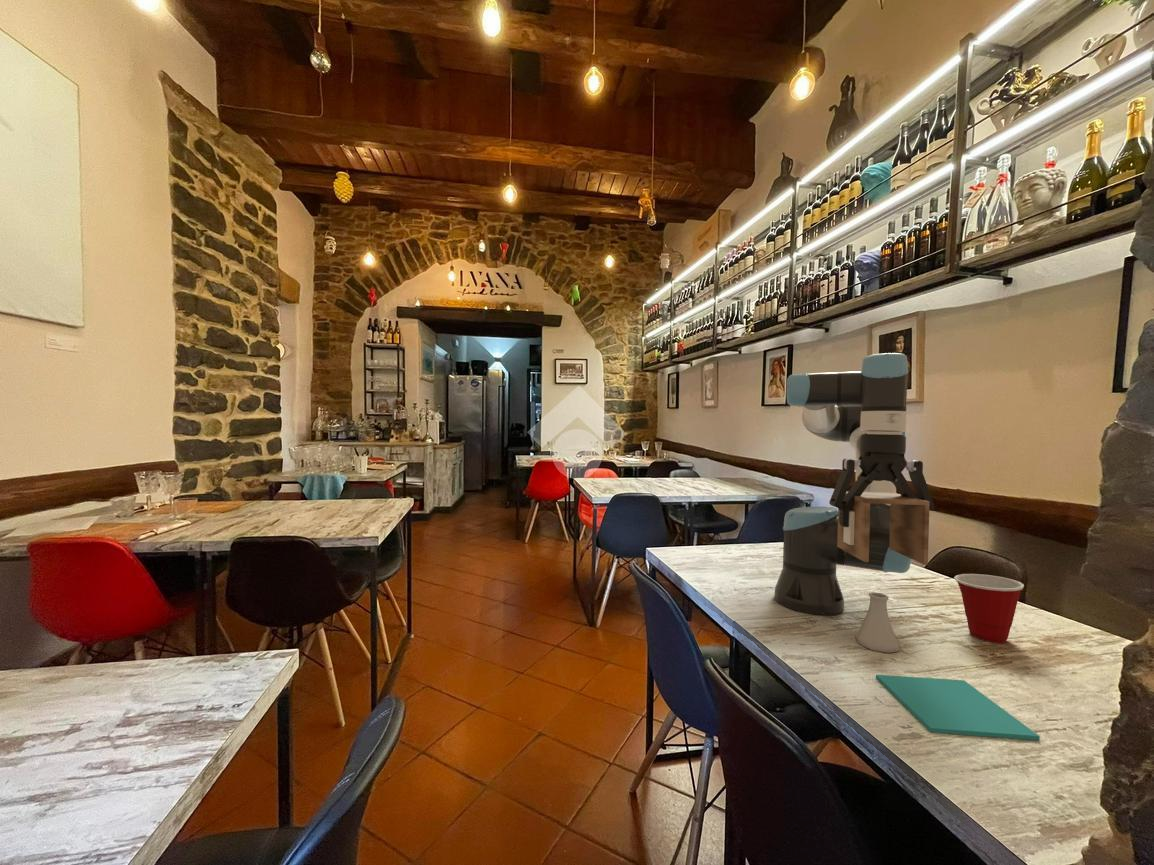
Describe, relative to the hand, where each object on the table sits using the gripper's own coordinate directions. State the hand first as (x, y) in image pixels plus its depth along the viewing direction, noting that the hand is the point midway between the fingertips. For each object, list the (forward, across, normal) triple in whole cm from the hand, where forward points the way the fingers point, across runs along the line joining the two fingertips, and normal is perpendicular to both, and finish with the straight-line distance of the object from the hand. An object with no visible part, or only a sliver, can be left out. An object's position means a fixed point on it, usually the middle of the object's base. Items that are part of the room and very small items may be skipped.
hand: (879, 544), depth 91 cm
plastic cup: (+20, +25, +7) cm, 33 cm away
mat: (+20, 0, -20) cm, 28 cm away
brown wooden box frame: (+2, 0, 0) cm, 2 cm away
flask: (+20, 0, 0) cm, 20 cm away
